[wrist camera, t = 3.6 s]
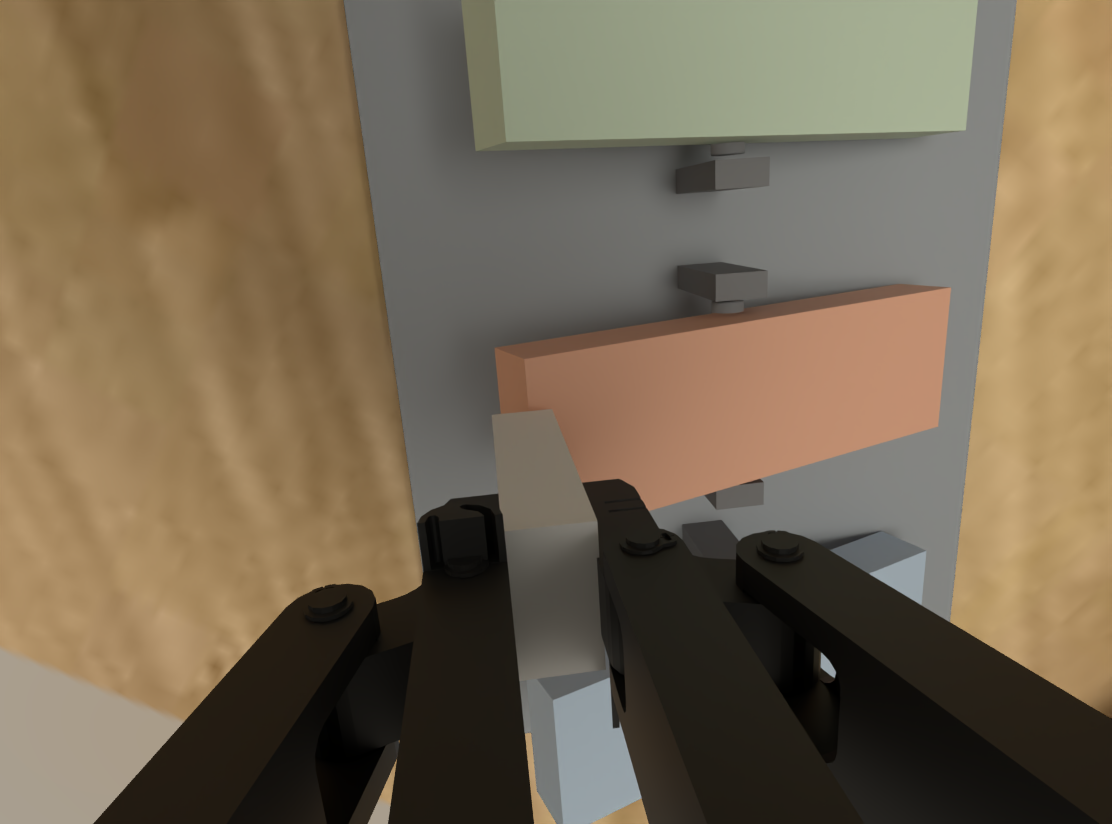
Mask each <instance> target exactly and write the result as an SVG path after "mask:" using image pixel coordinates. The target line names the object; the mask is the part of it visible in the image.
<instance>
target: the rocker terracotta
mask: <svg viewBox="0 0 1112 824" xmlns="http://www.w3.org/2000/svg"><path fill="white" fill-rule="evenodd" d="M950 294H951V287H938V286H923V285H909V284H895V285H889V286H883V287H876V288H870V289H864V290H857V291H851V292H845V293H838V294H832V295H826V296H819V297H813V298H807V299H800V300H794V301H788V302H781V303H775V304H769V305H762V306H756V307H750V308H744V301H743V300H731V301H720V302H715V301H712V302H711V314H705V315H699V316H692V317H686V318H680V319H673V320H667V321H661V322H654V323H648V324H642V325H635V326H629V327H623V328H616V329H610V330H604V331H597V332H591V333H585V334H578V335H572V336H566V337H559V338H553V339H546V340H540V341H534V342H527V343H521V344H515V345H508V346H502V347H496V348H495V358H496V369H497V379H498V390H499V400H500V411H501V414H505V413H515V412H526V411H536V410H546V409H552V410H553V413H554V415H555V418H556V420H557V422H558V425H559V427H560V430H561V432H562V435H563V437H564V440H565V442H566V445H567V447H568V450H569V452H570V455H571V457H572V459H573V462H574V464H575V467H576V469H577V472H578V474H579V477H580V479H581V482H582V483H583V482H592V481H602V480H611V479H621V480H623V481H625V482H626V483H628V484H630V485H632V486H634V487H635V489H636V490H637V492H638V494H639V495H640V497H641V500H642V501H643V502H644V504H645V506H646V508H647V509H648V511H651V510H654V509H658V508H661V507H665V506H668V505H671V504H675V503H678V502H682V501H685V500H688V499H692V498H695V497H699V496H702V495H706V494H709V493H712V492H716V491H719V490H723V489H726V488H729V487H733V486H736V485H740V484H743V483H747V482H750V481H753V480H757V479H760V478H764V477H767V476H771V475H774V474H777V473H781V472H784V471H788V470H791V469H794V468H798V467H801V466H805V465H808V464H812V463H815V462H818V461H822V460H825V459H829V458H832V457H836V456H839V455H842V454H846V453H849V452H853V451H856V450H859V449H863V448H866V447H870V446H873V445H877V444H880V443H883V442H887V441H890V440H894V439H897V438H901V437H904V436H907V435H911V434H914V433H918V432H921V431H924V430H928V429H931V428H935V427H938V423H939V412H940V401H941V391H942V380H943V369H944V358H945V348H946V337H947V326H948V316H949V305H950Z"/></svg>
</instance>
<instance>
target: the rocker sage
mask: <svg viewBox="0 0 1112 824" xmlns="http://www.w3.org/2000/svg"><path fill="white" fill-rule="evenodd" d="M461 4H462V14H463V24H464V35H465V45H466V56H467V66H468V77H469V87H470V97H471V108H472V118H473V129H474V139H475V150H476V151H504V150H537V149H570V148H603V147H636V146H669V145H702V144H711V156H726V155H736V154H743V153H745V143H768V142H801V141H834V140H867V139H899V138H915V137H922V136H929V135H937V134H944V133H951V132H958V131H965V130H966V123H967V112H968V101H969V91H970V80H971V69H972V58H973V48H974V37H975V26H976V16H977V5H978V0H461Z"/></svg>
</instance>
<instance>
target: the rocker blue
mask: <svg viewBox="0 0 1112 824" xmlns="http://www.w3.org/2000/svg"><path fill="white" fill-rule="evenodd" d="M830 551H832V552H834V553H835V554H837V555H839V556H840V557H842V558H844V559H845V560H847V561H849V562H850V563H852V564H854V565H855V566H857V567H859V568H860V569H862V570H864V571H865V572H867V573H869V574H870V575H872V576H874V577H875V578H877V579H879V580H880V581H882V582H884V583H885V584H887V585H889V586H890V587H892V588H894V589H895V590H897V591H899V592H900V593H902V594H904V595H905V596H907V597H909V598H910V599H912V600H914V601H915V602H917V603H919V604H920V605H922V594H923V583H924V573H925V562H926V550H924V549H922V548H919V547H917V546H915V545H913V544H910V543H908V542H906V541H903V540H901V539H899V538H896V537H894V536H892V535H890V534H887V533H885V532H883V531H881V532H878V533H875V534H872V535H870V536H867V537H864V538H862V539H859V540H856V541H853V542H851V543H848V544H845V545H843V546H840V547H837V548H834V549H832V550H830ZM605 663H606V670H599V671H592V672H584V673H577V674H569V675H562V676H554V677H547V678H539V679H532V680H526V682H527V692H528V703H529V713H530V724H531V734H532V745H533V755H534V765H535V776H536V786H537V792H538V793H539V795H540V797H541V798H542V800H543V802H544V803H545V805H546V807H547V808H548V810H549V812H550V813H551V815H552V817H553V818H554V820H555V822H556V823H557V824H591V823H593V822H595V821H597V820H599V819H601V818H603V817H605V816H607V815H609V814H611V813H613V812H615V811H617V810H619V809H621V808H623V807H625V806H627V805H629V804H631V803H633V802H635V801H637V800H639V799H641V798H642V797H641V794H640V790H639V787H638V783H637V780H636V776H635V773H634V769H633V766H632V762H631V759H630V755H629V752H628V748H627V745H626V741H625V738H624V734H623V731H622V727H621V724H620V728H614V729H613V723H612V705H611V687H610V669H609V659H608V655H607V652H606V649H605ZM821 668H822V669H823V670H824V671H826V672H827V673H828V674H829V675H830V676H832V677H834V678H835V675H836V671H835V669H834V668H833V666H832V664H831V663H830V661H829V660H828V659H827V658H826V657H825V656H824V655H823V654H822V653H821Z"/></svg>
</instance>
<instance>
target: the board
mask: <svg viewBox="0 0 1112 824" xmlns="http://www.w3.org/2000/svg"><path fill="white" fill-rule="evenodd" d="M1016 2H1017V0H978V5H977V16H976V26H975V37H974V48H973V58H972V69H971V80H970V91H969V101H968V112H967V123H966V130H965V131H958V132H951V133H944V134H937V135H929V136H922V137H915V138H899V139H867V140H834V141H801V142H768V143H745V153H743V154H736V155H726V156H711V144H702V145H669V146H636V147H603V148H570V149H537V150H504V151H476V150H475V139H474V129H473V118H472V108H471V97H470V87H469V77H468V66H467V56H466V45H465V35H464V24H463V14H462V4H461V0H344V7H345V14H346V21H347V29H348V36H349V43H350V50H351V57H352V65H353V72H354V79H355V86H356V93H357V101H358V108H359V115H360V122H361V129H362V137H363V144H364V151H365V158H366V165H367V173H368V180H369V187H370V194H371V201H372V209H373V216H374V223H375V230H376V237H377V245H378V252H379V259H380V266H381V273H382V281H383V288H384V295H385V302H386V309H387V317H388V324H389V331H390V338H391V345H392V353H393V360H394V367H395V374H396V381H397V389H398V396H399V403H400V410H401V417H402V425H403V432H404V439H405V446H406V453H407V461H408V468H409V475H410V482H411V489H412V497H413V504H414V511H415V518H416V525H417V522H418V521H419V519H420V518H421V516H423V515H424V514H426V513H427V512H429V511H430V510H432V509H435V508H437V507H440V506H443V505H445V504H446V503H447V502H448V501H449V500H450V499H453V498H462V497H471V496H481V495H490V494H498V483H497V471H496V459H495V448H494V436H493V424H492V415H495V414H501V411H500V400H499V390H498V379H497V369H496V358H495V348H496V347H502V346H508V345H515V344H521V343H527V342H534V341H540V340H546V339H553V338H559V337H566V336H572V335H578V334H585V333H591V332H597V331H604V330H610V329H616V328H623V327H629V326H635V325H642V324H648V323H654V322H661V321H667V320H673V319H680V318H686V317H692V316H699V315H705V314H711V302H712V301H715V302H720V301H731V300H743V301H744V308H750V307H756V306H762V305H769V304H775V303H781V302H788V301H794V300H800V299H807V298H813V297H819V296H826V295H832V294H838V293H845V292H851V291H857V290H864V289H870V288H876V287H883V286H889V285H895V284H909V285H923V286H938V287H951V294H950V305H949V316H948V326H947V337H946V348H945V358H944V369H943V380H942V391H941V401H940V412H939V423H938V427H935V428H931V429H928V430H924V431H921V432H918V433H914V434H911V435H907V436H904V437H901V438H897V439H894V440H890V441H887V442H883V443H880V444H877V445H873V446H870V447H866V448H863V449H859V450H856V451H853V452H849V453H846V454H842V455H839V456H836V457H832V458H829V459H825V460H822V461H818V462H815V463H812V464H808V465H805V466H801V467H798V468H794V469H791V470H788V471H784V472H781V473H777V474H774V475H771V476H767V477H764V478H760V479H757V480H753V481H750V482H747V483H743V484H740V485H736V486H733V487H729V488H726V489H723V490H719V491H716V492H712V493H709V494H706V495H702V496H699V497H695V498H692V499H688V500H685V501H682V502H678V503H675V504H671V505H668V506H665V507H661V508H658V509H654V510H651V511H649V512H650V514H651V516H652V517H653V519H654V521H655V522H656V524H657V526H658V527H659V529H665V530H667V531H670V532H672V533H675V534H676V535H678V536H679V537H680V538H681V539H682V540H683V541H684V543H685V544H686V546H687V547H688V549H689V550H690V552H691V553H692V555H694V556H698V557H705V558H716V559H735V560H736V544H737V543H738V542H739V541H740V540H741V539H742V538H743V537H746V536H748V535H751V534H753V533H760V532H765V531H768V530H775V531H776V532H777V530H780V531H787V532H789V533H792V534H797V535H802V536H804V537H806V538H808V539H811V540H813V541H815V542H817V543H819V544H820V545H822V546H824V547H825V548H827V549H829V550H832V549H834V548H837V547H840V546H843V545H845V544H848V543H851V542H853V541H856V540H859V539H862V538H864V537H867V536H870V535H872V534H875V533H878V532H881V531H883V532H885V533H887V534H890V535H892V536H894V537H896V538H899V539H901V540H903V541H906V542H908V543H910V544H913V545H915V546H917V547H919V548H922V549H924V550H926V562H925V573H924V583H923V594H922V606H924V607H925V608H927V609H929V610H930V611H932V612H934V613H935V614H937V615H939V616H940V617H942V618H944V619H945V620H947V621H949V622H950V616H951V606H952V597H953V588H954V578H955V569H956V560H957V550H958V541H959V532H960V523H961V513H962V504H963V495H964V485H965V476H966V467H967V457H968V448H969V439H970V430H971V420H972V411H973V402H974V392H975V383H976V374H977V364H978V355H979V346H980V337H981V327H982V318H983V309H984V299H985V290H986V281H987V271H988V262H989V253H990V244H991V234H992V225H993V216H994V206H995V197H996V188H997V178H998V169H999V160H1000V151H1001V141H1002V132H1003V123H1004V113H1005V104H1006V95H1007V85H1008V76H1009V67H1010V57H1011V48H1012V39H1013V30H1014V20H1015V11H1016ZM417 533H418V529H417ZM418 540H419V536H418ZM419 547H420V544H419ZM420 554H421V551H420ZM421 561H422V558H421ZM422 569H423V565H422ZM520 691H521V701H522V711H523V721H524V731H525V733H531V724H530V713H529V703H528V692H527V682H526V680H524V681H520Z"/></svg>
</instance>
